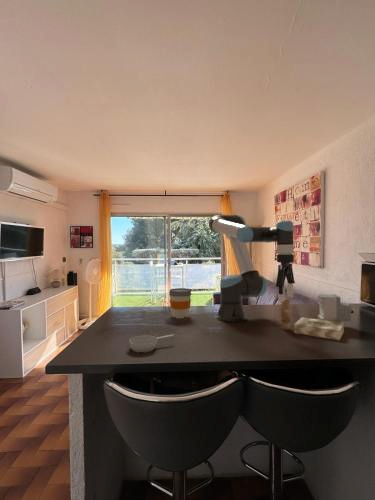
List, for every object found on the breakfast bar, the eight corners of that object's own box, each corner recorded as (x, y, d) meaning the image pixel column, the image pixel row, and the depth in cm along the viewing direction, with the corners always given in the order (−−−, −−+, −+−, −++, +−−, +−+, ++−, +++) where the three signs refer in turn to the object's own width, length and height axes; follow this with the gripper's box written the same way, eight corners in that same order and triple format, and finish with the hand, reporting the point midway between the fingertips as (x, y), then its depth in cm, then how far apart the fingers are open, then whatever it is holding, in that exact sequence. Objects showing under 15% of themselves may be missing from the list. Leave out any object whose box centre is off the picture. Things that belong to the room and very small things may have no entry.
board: (294, 332, 126) (294, 323, 126) (302, 325, 137) (302, 317, 137) (339, 340, 115) (339, 330, 115) (343, 331, 127) (343, 322, 126)
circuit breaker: (354, 329, 129) (354, 297, 129) (321, 328, 132) (321, 296, 132) (349, 325, 136) (349, 294, 136) (317, 324, 139) (317, 294, 139)
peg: (279, 329, 132) (279, 299, 131) (282, 327, 135) (282, 298, 135) (288, 330, 129) (288, 300, 129) (291, 328, 132) (291, 299, 132)
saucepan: (126, 346, 112) (126, 336, 112) (169, 339, 119) (169, 330, 119) (132, 355, 102) (132, 345, 102) (178, 348, 109) (178, 338, 109)
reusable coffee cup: (195, 315, 160) (195, 289, 160) (183, 320, 150) (183, 292, 149) (177, 312, 167) (177, 287, 167) (164, 317, 156) (164, 290, 156)
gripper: (285, 254, 119) (286, 304, 119) (300, 253, 139) (301, 295, 139) (268, 254, 124) (268, 302, 124) (285, 253, 144) (285, 294, 144)
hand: (286, 299), depth 131 cm, fingers open, 13 cm apart
